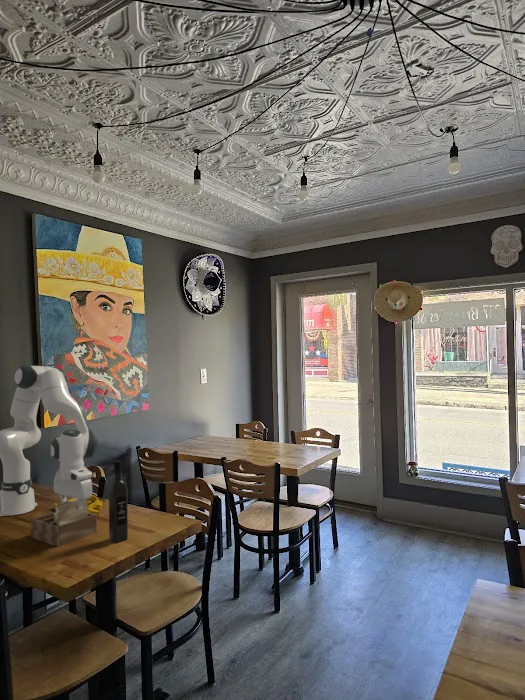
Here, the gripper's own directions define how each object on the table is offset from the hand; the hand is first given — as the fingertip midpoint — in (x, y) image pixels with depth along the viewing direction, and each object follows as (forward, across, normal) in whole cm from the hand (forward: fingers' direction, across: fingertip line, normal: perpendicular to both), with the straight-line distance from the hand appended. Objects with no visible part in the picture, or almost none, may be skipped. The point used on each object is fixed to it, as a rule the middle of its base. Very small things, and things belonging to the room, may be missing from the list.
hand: (72, 507), depth 179 cm
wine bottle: (+12, +18, +8) cm, 23 cm away
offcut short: (+6, -6, 0) cm, 8 cm away
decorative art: (+12, -25, +23) cm, 36 cm away
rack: (+12, -6, 0) cm, 13 cm away
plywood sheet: (+12, 0, 0) cm, 12 cm away
